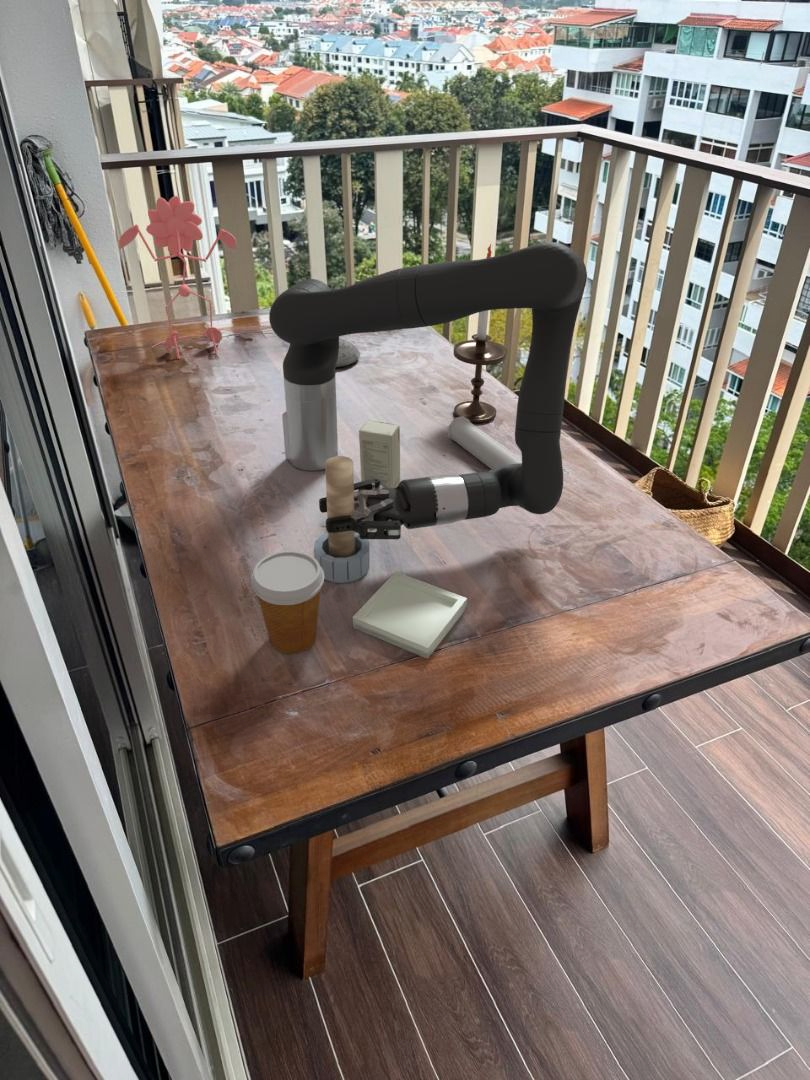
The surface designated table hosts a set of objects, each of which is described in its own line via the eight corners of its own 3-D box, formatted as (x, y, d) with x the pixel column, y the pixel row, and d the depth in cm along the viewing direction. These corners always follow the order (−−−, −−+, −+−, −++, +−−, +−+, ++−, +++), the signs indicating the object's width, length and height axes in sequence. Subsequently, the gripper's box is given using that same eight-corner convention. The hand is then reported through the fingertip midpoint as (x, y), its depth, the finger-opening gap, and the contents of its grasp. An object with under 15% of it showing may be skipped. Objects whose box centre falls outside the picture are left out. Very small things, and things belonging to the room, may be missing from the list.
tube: (553, 474, 135) (472, 417, 152) (532, 473, 132) (452, 414, 149) (542, 500, 137) (463, 441, 154) (521, 500, 134) (443, 439, 151)
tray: (352, 627, 107) (352, 617, 105) (395, 581, 115) (395, 571, 114) (427, 658, 102) (428, 648, 101) (466, 608, 110) (467, 598, 109)
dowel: (324, 565, 117) (319, 465, 106) (338, 552, 120) (335, 453, 109) (346, 574, 115) (343, 473, 105) (360, 560, 118) (358, 460, 108)
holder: (304, 571, 116) (303, 551, 114) (335, 544, 122) (334, 524, 120) (350, 590, 113) (349, 569, 111) (379, 560, 119) (379, 540, 117)
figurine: (251, 350, 187) (234, 198, 167) (144, 365, 178) (113, 206, 158) (237, 330, 198) (220, 186, 178) (135, 343, 190) (105, 193, 170)
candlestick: (463, 398, 168) (476, 234, 147) (508, 410, 163) (527, 242, 143) (440, 417, 160) (450, 246, 139) (486, 430, 156) (503, 256, 135)
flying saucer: (326, 343, 193) (325, 322, 189) (372, 358, 186) (372, 336, 182) (285, 361, 183) (284, 339, 179) (333, 377, 176) (332, 355, 172)
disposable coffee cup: (260, 616, 108) (252, 549, 101) (327, 613, 109) (324, 547, 102) (255, 664, 100) (246, 595, 93) (327, 661, 101) (324, 592, 94)
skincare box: (400, 484, 138) (402, 424, 131) (392, 496, 134) (393, 436, 127) (368, 478, 139) (367, 418, 132) (359, 490, 136) (358, 429, 129)
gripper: (420, 456, 119) (313, 469, 115) (448, 505, 107) (331, 521, 104) (418, 497, 123) (315, 510, 119) (445, 548, 112) (332, 564, 108)
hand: (323, 515), depth 111 cm, fingers open, 5 cm apart
